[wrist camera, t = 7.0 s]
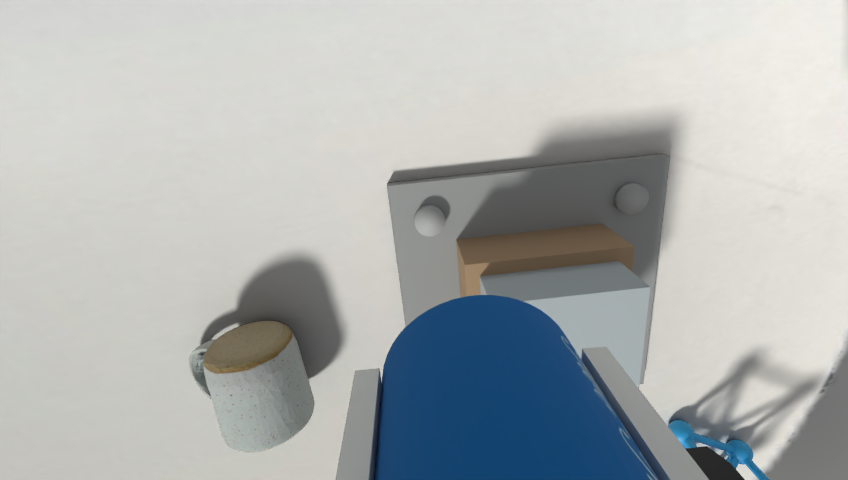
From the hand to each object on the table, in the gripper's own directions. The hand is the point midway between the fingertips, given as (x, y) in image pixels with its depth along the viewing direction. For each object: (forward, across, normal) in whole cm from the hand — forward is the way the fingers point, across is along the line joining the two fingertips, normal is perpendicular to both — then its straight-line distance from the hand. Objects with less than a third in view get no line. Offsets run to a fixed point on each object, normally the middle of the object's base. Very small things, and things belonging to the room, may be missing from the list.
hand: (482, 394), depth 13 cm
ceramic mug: (+22, -17, -13) cm, 31 cm away
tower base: (+22, +7, -8) cm, 25 cm away
